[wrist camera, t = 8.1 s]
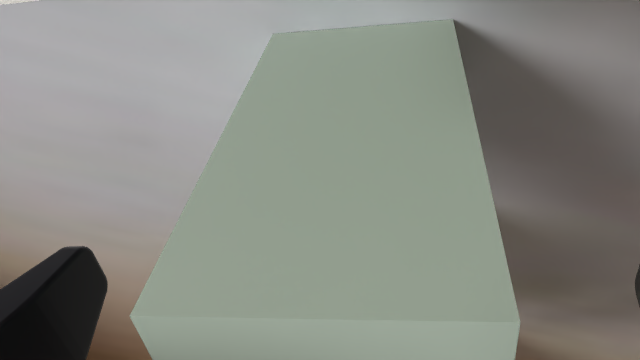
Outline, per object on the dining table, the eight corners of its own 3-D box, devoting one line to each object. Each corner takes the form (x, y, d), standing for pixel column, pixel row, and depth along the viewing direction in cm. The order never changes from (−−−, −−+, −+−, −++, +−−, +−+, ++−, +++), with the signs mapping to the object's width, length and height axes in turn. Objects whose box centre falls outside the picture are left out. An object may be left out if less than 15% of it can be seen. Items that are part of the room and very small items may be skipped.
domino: (451, 80, 15) (507, 405, 7) (283, 90, 16) (169, 391, 8) (452, 19, 14) (520, 322, 6) (273, 33, 15) (129, 316, 7)
